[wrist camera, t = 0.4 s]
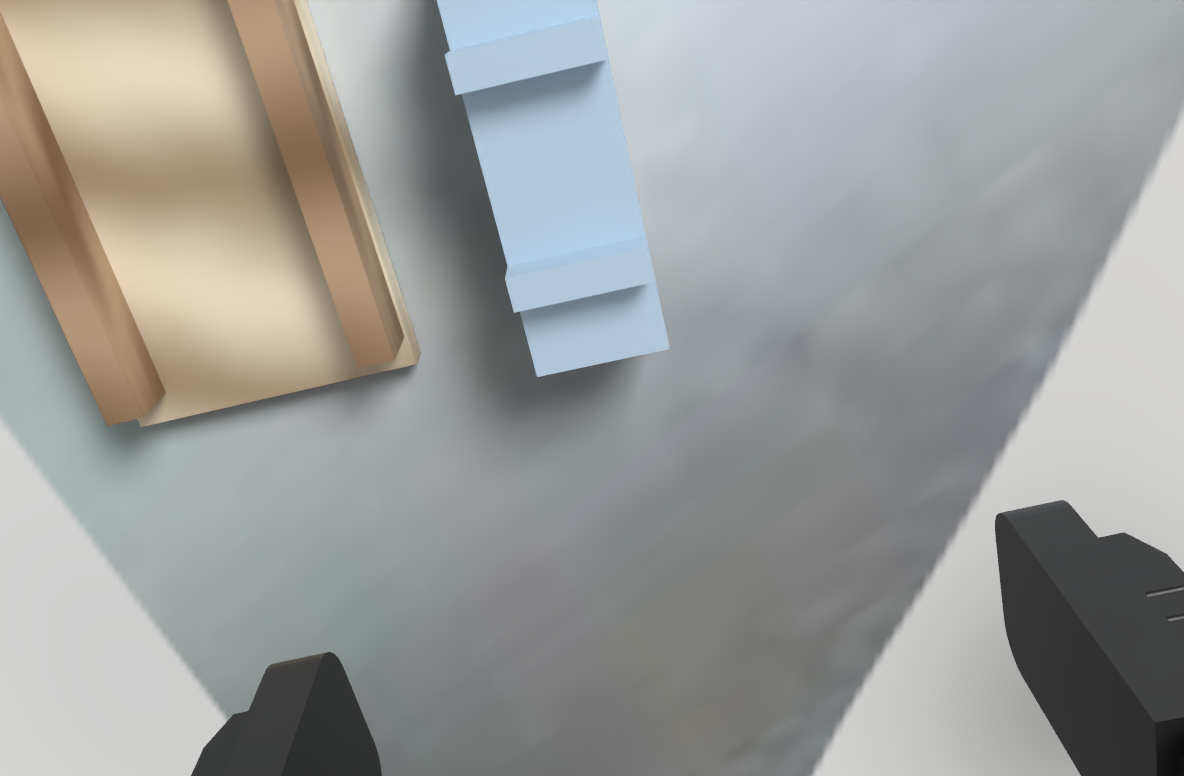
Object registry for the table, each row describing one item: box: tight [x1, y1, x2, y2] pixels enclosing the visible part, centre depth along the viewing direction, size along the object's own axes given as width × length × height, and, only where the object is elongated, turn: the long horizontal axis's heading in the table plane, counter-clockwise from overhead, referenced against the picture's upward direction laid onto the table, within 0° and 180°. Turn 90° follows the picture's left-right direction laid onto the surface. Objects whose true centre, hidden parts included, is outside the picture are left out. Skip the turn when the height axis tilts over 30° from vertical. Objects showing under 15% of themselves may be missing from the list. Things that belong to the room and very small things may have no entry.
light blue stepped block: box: [437, 0, 670, 377], centre depth 30 cm, size 14×4×6 cm, turn 13°
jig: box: [0, 0, 421, 427], centre depth 32 cm, size 16×10×3 cm, turn 13°
